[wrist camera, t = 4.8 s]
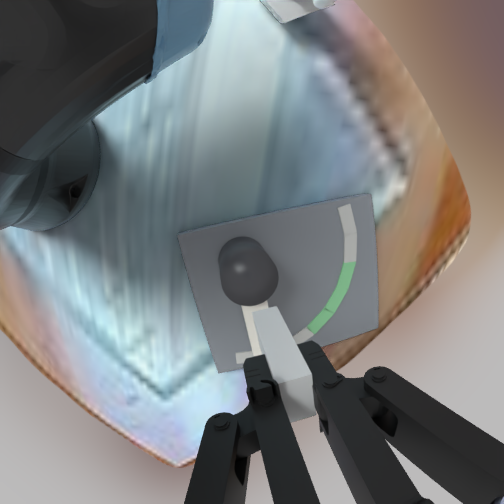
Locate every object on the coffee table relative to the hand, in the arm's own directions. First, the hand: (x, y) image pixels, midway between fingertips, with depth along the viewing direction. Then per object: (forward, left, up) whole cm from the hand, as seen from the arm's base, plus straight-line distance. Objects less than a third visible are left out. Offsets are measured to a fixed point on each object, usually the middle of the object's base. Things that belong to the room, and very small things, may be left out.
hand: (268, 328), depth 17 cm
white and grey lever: (0, -5, -14) cm, 15 cm away
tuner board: (+5, -5, -16) cm, 18 cm away
